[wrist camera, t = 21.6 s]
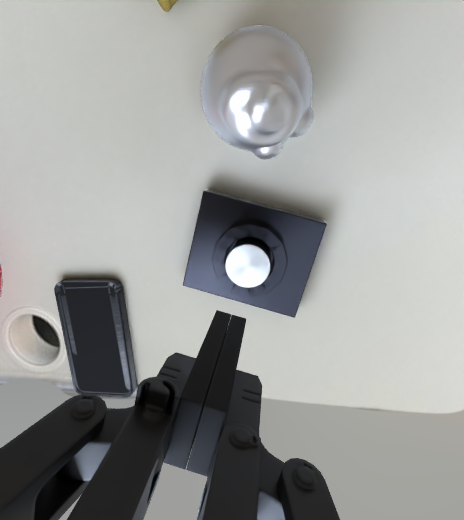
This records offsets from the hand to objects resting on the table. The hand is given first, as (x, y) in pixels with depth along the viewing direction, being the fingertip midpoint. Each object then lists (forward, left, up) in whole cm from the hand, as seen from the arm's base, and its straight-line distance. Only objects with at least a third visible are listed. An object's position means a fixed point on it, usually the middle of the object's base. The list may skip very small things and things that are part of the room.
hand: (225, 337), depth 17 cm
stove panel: (0, 0, -18) cm, 18 cm away
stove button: (0, 0, -15) cm, 15 cm away
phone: (+15, +15, -18) cm, 28 cm away
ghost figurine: (+3, -14, -19) cm, 23 cm away
